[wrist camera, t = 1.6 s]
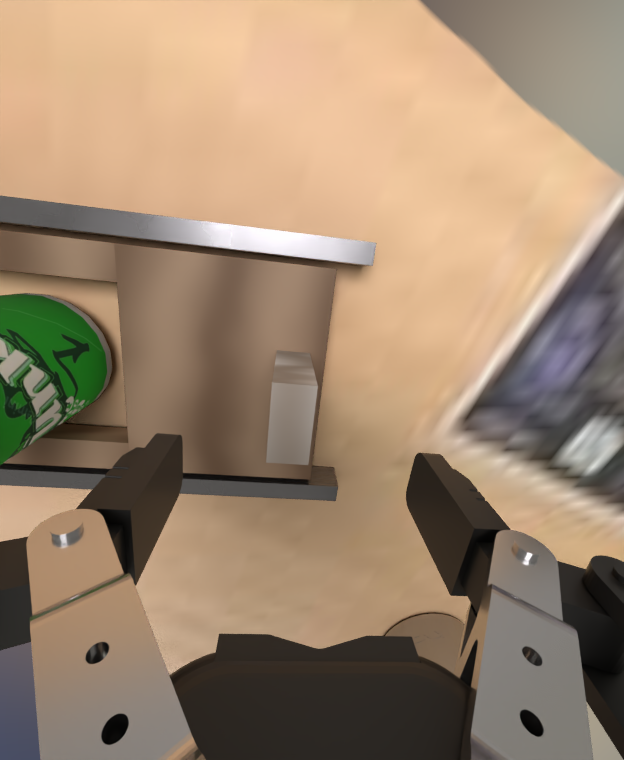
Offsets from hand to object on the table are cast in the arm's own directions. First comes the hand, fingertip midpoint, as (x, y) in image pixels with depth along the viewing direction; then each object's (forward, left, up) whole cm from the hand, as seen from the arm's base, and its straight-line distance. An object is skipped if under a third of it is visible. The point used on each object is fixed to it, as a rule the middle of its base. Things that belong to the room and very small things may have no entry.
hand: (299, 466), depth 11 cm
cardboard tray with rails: (+5, +10, -12) cm, 17 cm away
